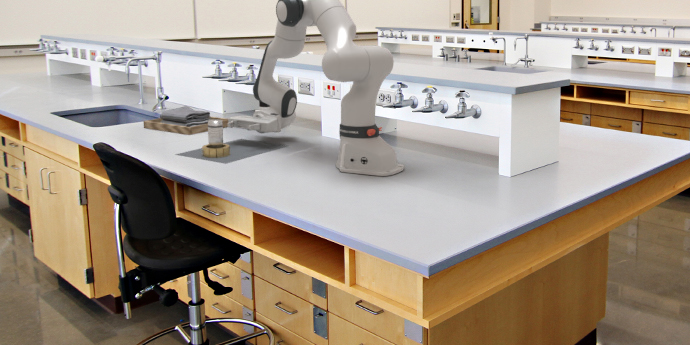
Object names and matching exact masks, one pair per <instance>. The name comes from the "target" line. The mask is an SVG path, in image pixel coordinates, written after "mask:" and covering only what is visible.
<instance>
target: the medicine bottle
mask: <svg viewBox="0 0 690 345" xmlns="http://www.w3.org/2000/svg"><path fill="white" fill-rule="evenodd" d="M258 108H259V109H255V110H254V113H255V112H256V111H259V110H264V109H268V108H270V105H268V104H266V103H263V102H261V101H259V100H258Z"/></svg>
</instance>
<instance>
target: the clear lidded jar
mask: <svg viewBox="0 0 690 345" xmlns="http://www.w3.org/2000/svg"><path fill="white" fill-rule="evenodd" d="M223 129H224V128H223V121H222V120H208V131H207V132H208V133H207V135H208V136H207V138H208V144H209V148H223V143H224V130H223Z"/></svg>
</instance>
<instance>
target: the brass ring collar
mask: <svg viewBox="0 0 690 345" xmlns="http://www.w3.org/2000/svg"><path fill="white" fill-rule="evenodd" d="M201 148H202V153H203V156H204V157H210V158H216V157H217V158H218V157H225V156H229V155H230V145H228V144H223V148H209V143H207V144H204V145H202V147H201Z"/></svg>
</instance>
